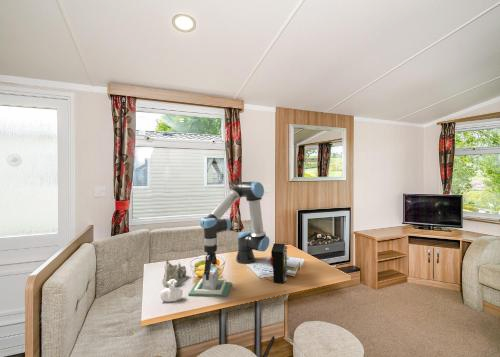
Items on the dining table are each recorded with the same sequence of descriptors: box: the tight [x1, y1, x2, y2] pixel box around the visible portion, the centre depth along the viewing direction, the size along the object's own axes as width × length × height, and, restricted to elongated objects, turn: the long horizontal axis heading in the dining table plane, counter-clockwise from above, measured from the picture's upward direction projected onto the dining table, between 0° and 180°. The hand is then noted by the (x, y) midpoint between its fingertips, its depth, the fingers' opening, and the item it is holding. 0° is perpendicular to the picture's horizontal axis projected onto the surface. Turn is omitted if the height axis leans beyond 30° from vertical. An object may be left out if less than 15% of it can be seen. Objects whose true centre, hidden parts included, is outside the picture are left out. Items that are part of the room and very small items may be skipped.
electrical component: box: [269, 243, 288, 284], centre depth 150 cm, size 18×10×20 cm, turn 168°
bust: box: [159, 279, 184, 303], centre depth 124 cm, size 12×8×11 cm
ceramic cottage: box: [161, 258, 188, 289], centre depth 146 cm, size 16×16×15 cm
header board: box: [188, 278, 232, 298], centre depth 134 cm, size 16×22×3 cm
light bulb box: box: [202, 266, 220, 290], centre depth 133 cm, size 11×7×11 cm, turn 171°
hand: (210, 279), depth 134 cm, fingers open, 13 cm apart
